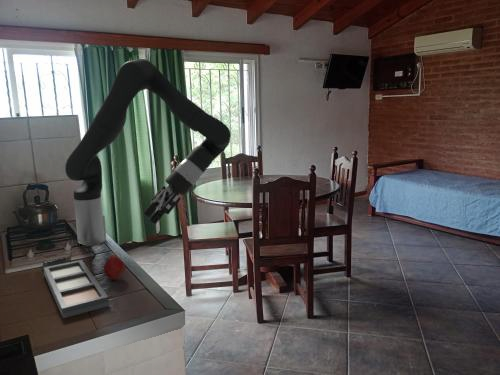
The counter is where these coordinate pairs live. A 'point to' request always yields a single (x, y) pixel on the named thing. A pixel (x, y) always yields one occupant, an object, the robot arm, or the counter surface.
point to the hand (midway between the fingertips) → (149, 218)
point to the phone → (56, 262)
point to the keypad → (74, 287)
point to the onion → (114, 267)
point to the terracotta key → (80, 296)
